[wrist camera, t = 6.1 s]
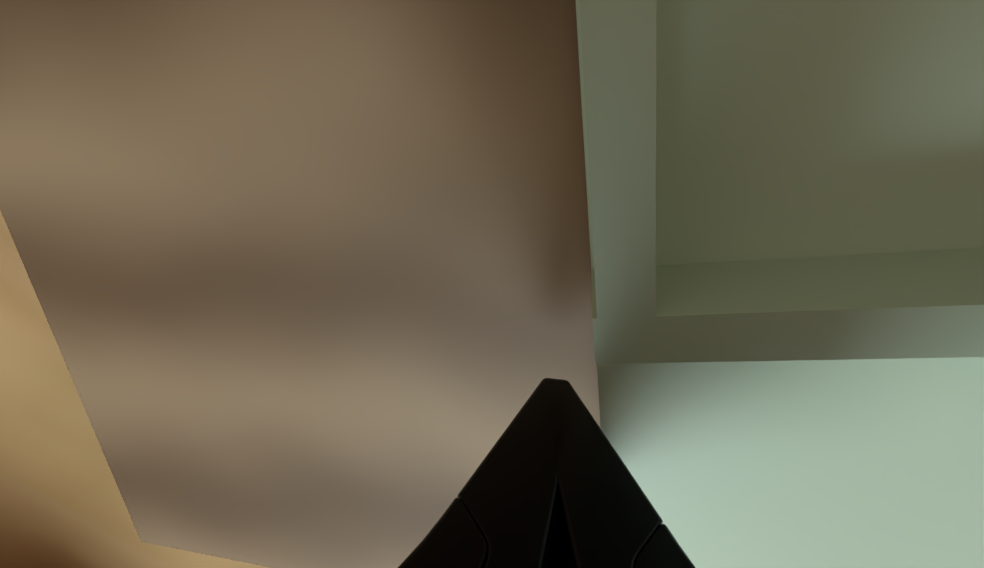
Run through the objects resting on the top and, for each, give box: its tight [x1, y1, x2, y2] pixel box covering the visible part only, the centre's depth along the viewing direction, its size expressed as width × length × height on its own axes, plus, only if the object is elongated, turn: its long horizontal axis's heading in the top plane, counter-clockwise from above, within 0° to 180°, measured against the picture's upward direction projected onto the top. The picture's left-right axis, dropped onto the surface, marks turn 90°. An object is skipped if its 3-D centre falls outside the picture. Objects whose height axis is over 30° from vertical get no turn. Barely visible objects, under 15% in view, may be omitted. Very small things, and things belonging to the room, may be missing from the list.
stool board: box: [0, 0, 601, 568], centre depth 11 cm, size 18×22×1 cm
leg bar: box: [575, 0, 984, 568], centre depth 7 cm, size 13×6×4 cm, turn 8°
